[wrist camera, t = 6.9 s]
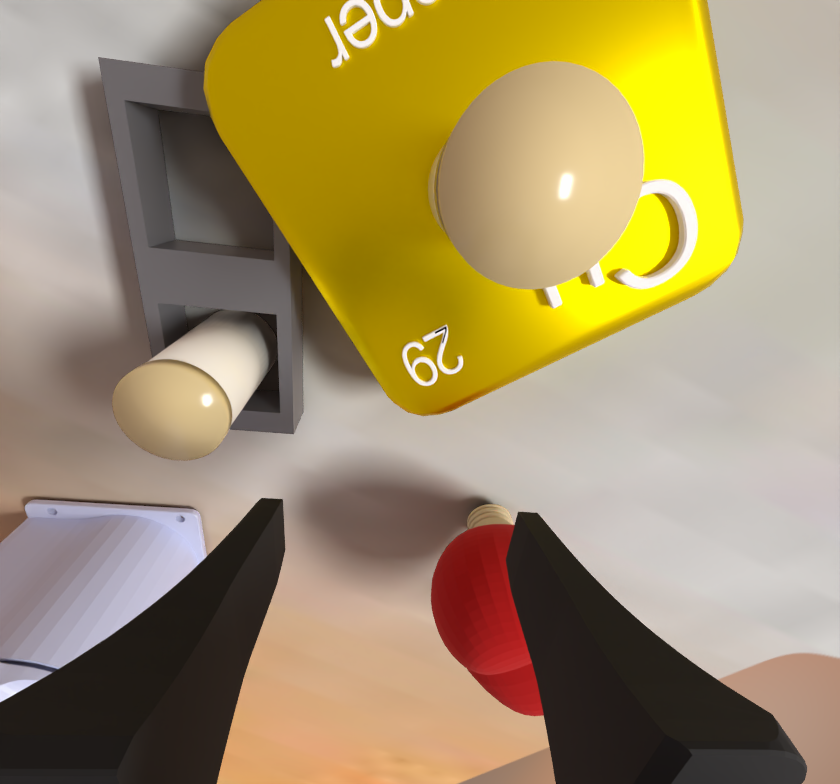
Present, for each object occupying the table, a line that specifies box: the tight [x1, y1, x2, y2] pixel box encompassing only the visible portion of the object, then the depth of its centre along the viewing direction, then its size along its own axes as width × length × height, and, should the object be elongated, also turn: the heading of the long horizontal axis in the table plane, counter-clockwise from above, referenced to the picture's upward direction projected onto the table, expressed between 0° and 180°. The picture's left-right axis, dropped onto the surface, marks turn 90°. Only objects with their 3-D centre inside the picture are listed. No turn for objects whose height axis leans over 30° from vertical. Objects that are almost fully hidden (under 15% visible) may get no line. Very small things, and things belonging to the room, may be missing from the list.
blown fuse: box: [428, 61, 644, 289], centre depth 11 cm, size 4×4×7 cm
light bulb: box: [431, 504, 544, 716], centre depth 22 cm, size 9×7×10 cm
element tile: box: [203, 0, 743, 416], centre depth 16 cm, size 15×15×5 cm
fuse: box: [112, 309, 278, 461], centre depth 18 cm, size 4×4×7 cm
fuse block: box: [98, 57, 303, 434], centre depth 18 cm, size 6×14×2 cm, turn 174°
